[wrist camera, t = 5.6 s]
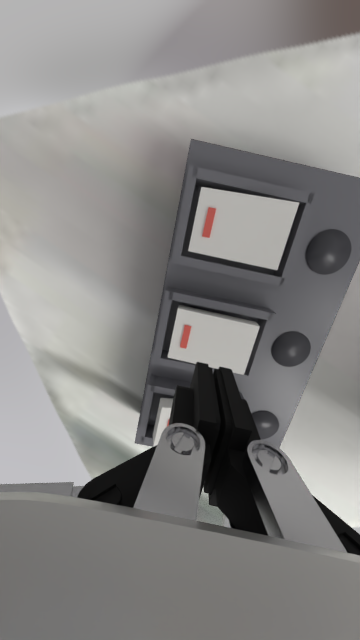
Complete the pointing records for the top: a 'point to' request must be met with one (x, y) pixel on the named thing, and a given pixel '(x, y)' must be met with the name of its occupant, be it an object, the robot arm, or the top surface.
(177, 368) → the rocker switch panel
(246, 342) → the middle rocker
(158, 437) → the rocker
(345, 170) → the top surface
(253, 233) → the rocker
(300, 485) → the robot arm
